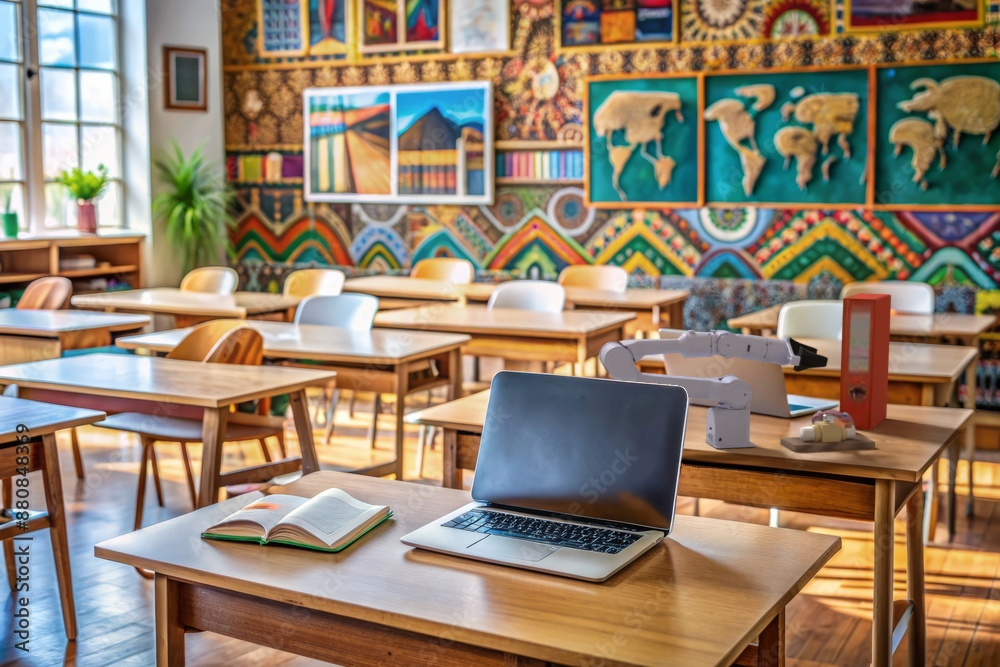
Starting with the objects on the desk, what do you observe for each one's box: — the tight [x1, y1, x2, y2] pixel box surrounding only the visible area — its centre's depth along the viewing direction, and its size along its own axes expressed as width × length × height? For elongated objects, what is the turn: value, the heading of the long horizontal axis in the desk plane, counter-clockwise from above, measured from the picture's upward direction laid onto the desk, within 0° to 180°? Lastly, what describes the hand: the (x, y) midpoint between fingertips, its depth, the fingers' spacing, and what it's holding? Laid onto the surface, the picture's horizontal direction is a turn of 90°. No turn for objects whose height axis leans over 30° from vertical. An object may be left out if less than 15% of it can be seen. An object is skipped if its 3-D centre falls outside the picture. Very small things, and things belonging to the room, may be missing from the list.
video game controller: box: [811, 409, 855, 427], centre depth 260 cm, size 10×5×7 cm, turn 62°
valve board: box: [779, 434, 876, 453], centre depth 246 cm, size 19×8×2 cm, turn 98°
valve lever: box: [823, 414, 852, 428], centre depth 241 cm, size 11×2×2 cm, turn 8°
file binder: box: [838, 292, 892, 431], centre depth 271 cm, size 8×17×32 cm, turn 149°
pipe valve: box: [799, 421, 857, 442], centre depth 246 cm, size 12×4×4 cm, turn 98°
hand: (821, 357), depth 248 cm, fingers open, 7 cm apart
